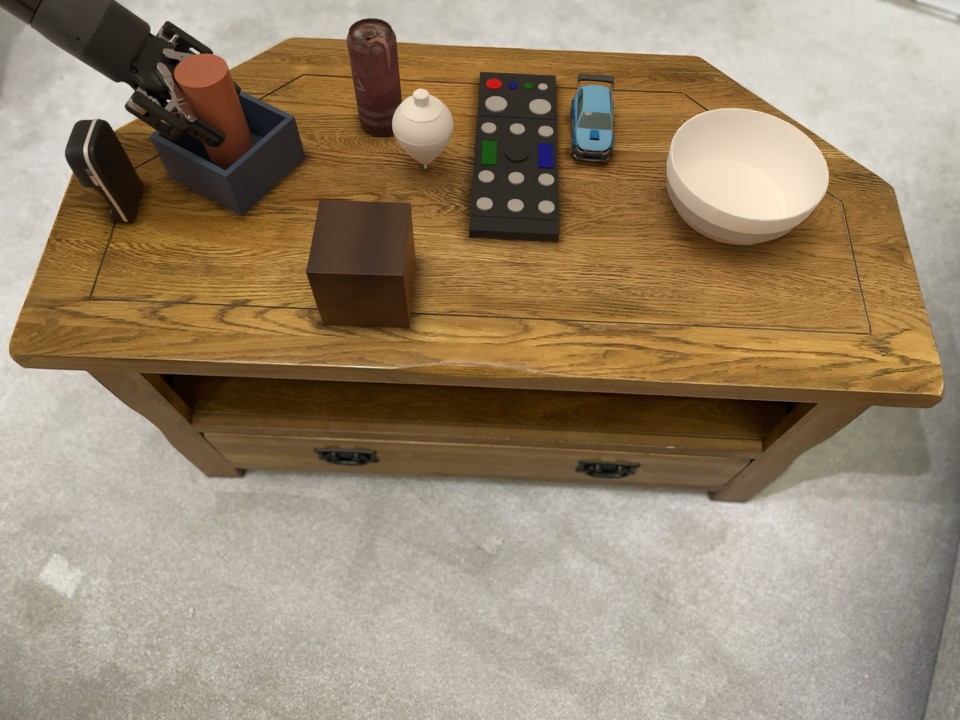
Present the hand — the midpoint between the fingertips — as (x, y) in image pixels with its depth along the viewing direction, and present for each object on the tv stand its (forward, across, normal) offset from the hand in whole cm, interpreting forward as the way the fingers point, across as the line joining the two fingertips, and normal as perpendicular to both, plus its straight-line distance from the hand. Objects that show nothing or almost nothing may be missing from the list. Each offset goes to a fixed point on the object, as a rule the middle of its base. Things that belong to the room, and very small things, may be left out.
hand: (230, 117), depth 82 cm
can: (+18, +10, -6) cm, 21 cm away
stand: (+19, -20, -7) cm, 28 cm away
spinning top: (+23, +1, -11) cm, 25 cm away
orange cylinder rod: (+4, 0, +6) cm, 7 cm away
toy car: (+38, +9, -27) cm, 48 cm away
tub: (+5, 0, +7) cm, 8 cm away
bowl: (+50, -4, -39) cm, 64 cm away
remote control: (+31, +4, -19) cm, 37 cm away
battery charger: (-4, -7, +16) cm, 18 cm away
